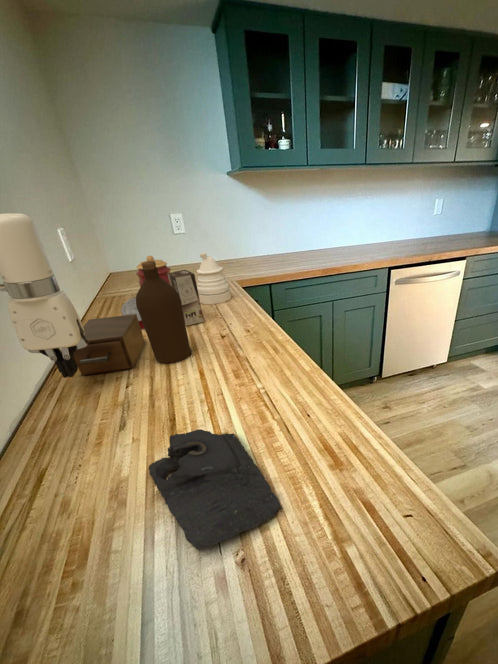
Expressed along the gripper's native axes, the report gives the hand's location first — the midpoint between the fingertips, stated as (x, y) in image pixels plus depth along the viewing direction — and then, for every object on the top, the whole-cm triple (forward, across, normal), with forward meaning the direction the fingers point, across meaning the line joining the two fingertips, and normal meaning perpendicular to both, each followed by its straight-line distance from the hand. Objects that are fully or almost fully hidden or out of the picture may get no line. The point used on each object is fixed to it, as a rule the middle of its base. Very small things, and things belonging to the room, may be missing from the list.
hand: (70, 374), depth 71 cm
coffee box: (+7, +21, +45) cm, 50 cm away
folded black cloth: (+7, +28, -32) cm, 43 cm away
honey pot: (+7, +29, +67) cm, 73 cm away
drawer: (+6, +2, +18) cm, 20 cm away
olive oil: (+7, +18, +18) cm, 26 cm away
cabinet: (+7, +2, +22) cm, 23 cm away
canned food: (+7, +4, +47) cm, 48 cm away
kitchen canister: (+7, +7, +74) cm, 75 cm away
